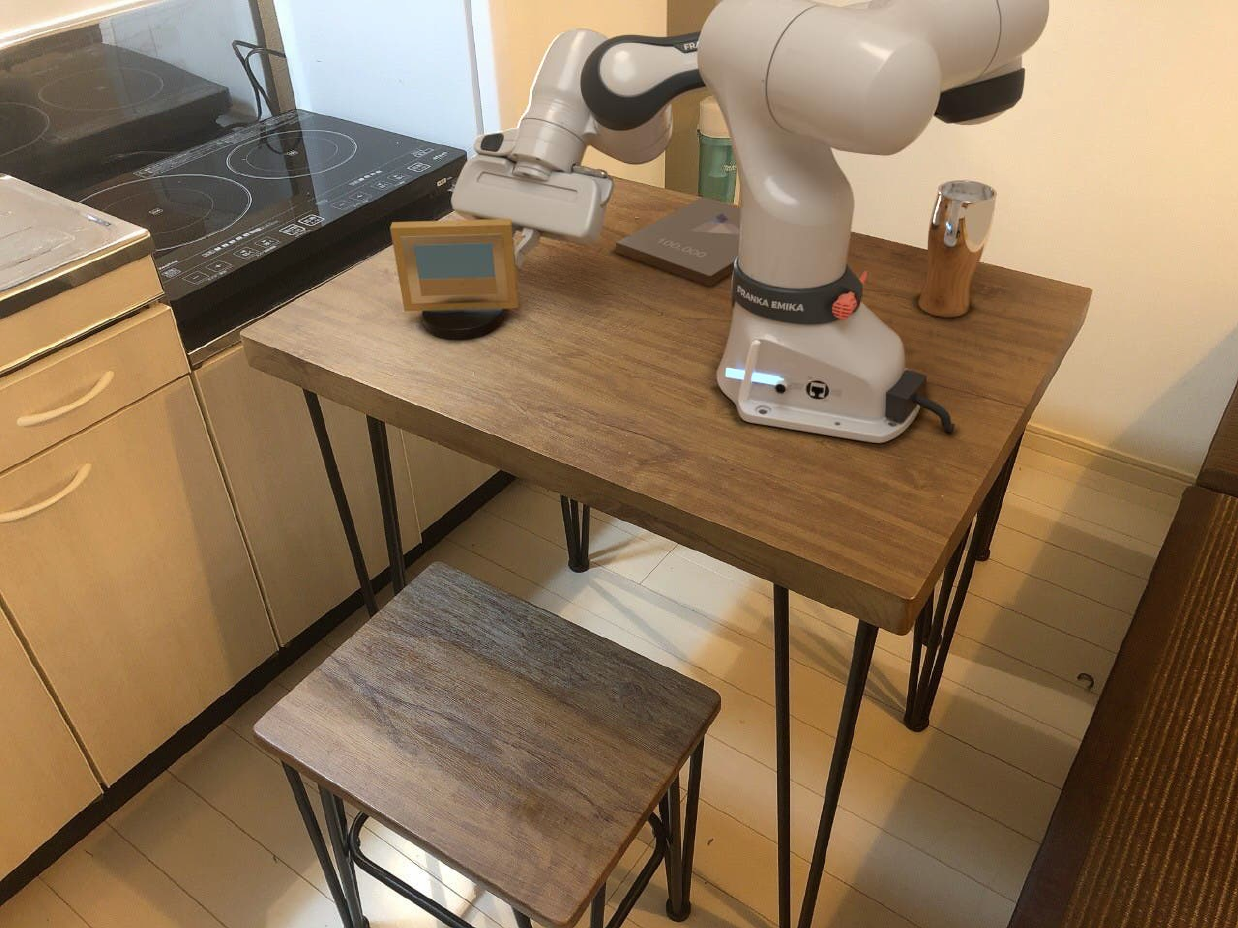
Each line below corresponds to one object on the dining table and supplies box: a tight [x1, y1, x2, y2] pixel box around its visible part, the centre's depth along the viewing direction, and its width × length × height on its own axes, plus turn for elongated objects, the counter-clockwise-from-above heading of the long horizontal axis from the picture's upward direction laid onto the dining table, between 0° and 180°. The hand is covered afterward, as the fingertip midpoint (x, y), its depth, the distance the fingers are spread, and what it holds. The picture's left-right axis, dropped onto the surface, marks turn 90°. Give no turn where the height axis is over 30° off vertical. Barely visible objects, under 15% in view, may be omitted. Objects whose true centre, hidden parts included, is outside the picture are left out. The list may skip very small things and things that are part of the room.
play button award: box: [615, 196, 741, 287], centre depth 136 cm, size 16×2×20 cm
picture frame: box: [389, 219, 520, 312], centre depth 116 cm, size 14×2×11 cm, turn 91°
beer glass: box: [917, 179, 998, 318], centre depth 117 cm, size 7×7×15 cm
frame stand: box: [421, 309, 505, 341], centre depth 120 cm, size 10×10×2 cm
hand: (507, 263), depth 119 cm, fingers closed
